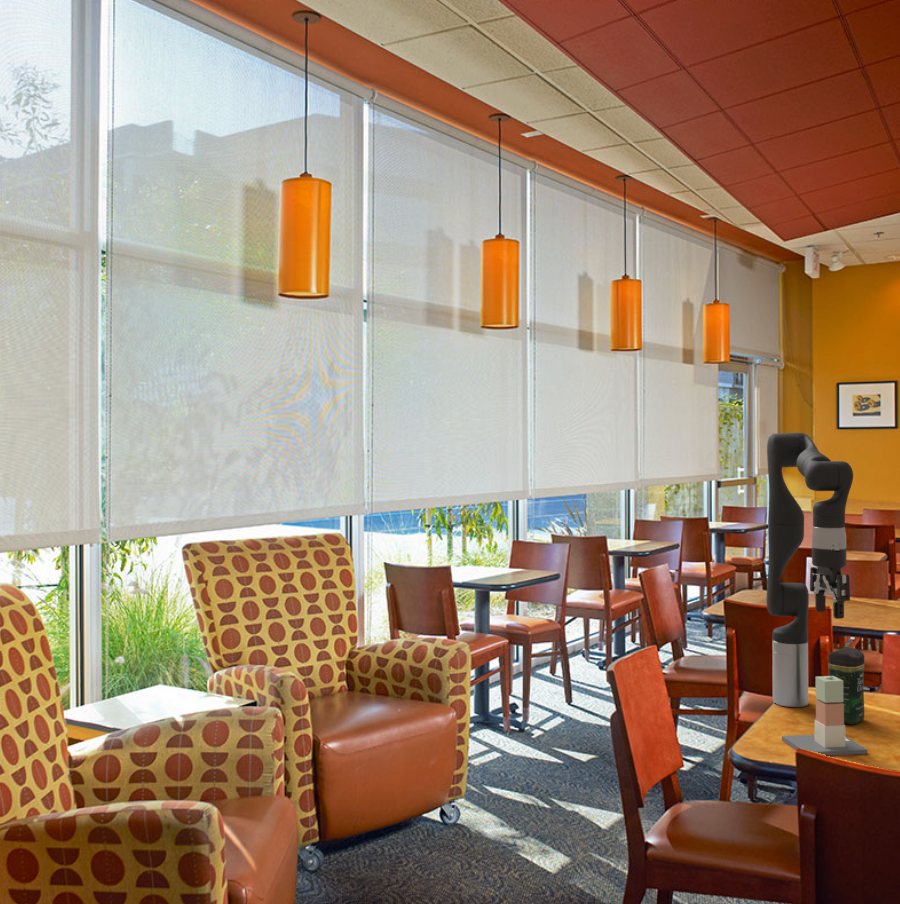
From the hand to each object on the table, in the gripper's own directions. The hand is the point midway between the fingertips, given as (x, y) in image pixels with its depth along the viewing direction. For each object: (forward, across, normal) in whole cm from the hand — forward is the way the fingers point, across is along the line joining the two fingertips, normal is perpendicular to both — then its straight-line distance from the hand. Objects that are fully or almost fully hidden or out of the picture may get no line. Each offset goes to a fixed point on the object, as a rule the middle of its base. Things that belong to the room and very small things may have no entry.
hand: (829, 614), depth 218 cm
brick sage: (+20, 0, 0) cm, 20 cm away
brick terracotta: (+26, 0, 0) cm, 26 cm away
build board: (+32, -1, -1) cm, 32 cm away
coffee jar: (+32, -20, +15) cm, 41 cm away
